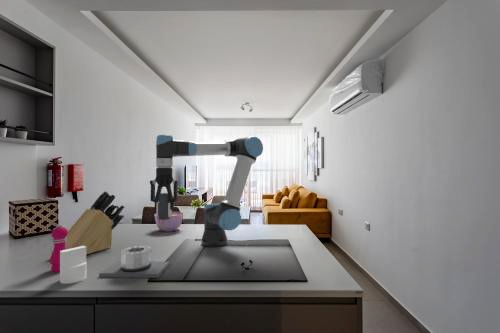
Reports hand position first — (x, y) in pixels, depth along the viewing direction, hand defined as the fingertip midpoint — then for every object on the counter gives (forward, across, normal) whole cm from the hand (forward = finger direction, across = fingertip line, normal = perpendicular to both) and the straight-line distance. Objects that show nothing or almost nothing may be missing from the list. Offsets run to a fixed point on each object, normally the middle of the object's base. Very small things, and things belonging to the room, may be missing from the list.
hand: (164, 216), depth 136 cm
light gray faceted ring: (+20, -7, -14) cm, 25 cm away
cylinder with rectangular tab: (+22, -28, -24) cm, 43 cm away
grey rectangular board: (+21, -7, -14) cm, 26 cm away
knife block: (+22, -44, +14) cm, 51 cm away
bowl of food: (+21, -20, +64) cm, 70 cm away
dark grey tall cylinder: (+1, 0, 0) cm, 1 cm away
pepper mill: (+22, -41, -14) cm, 48 cm away
